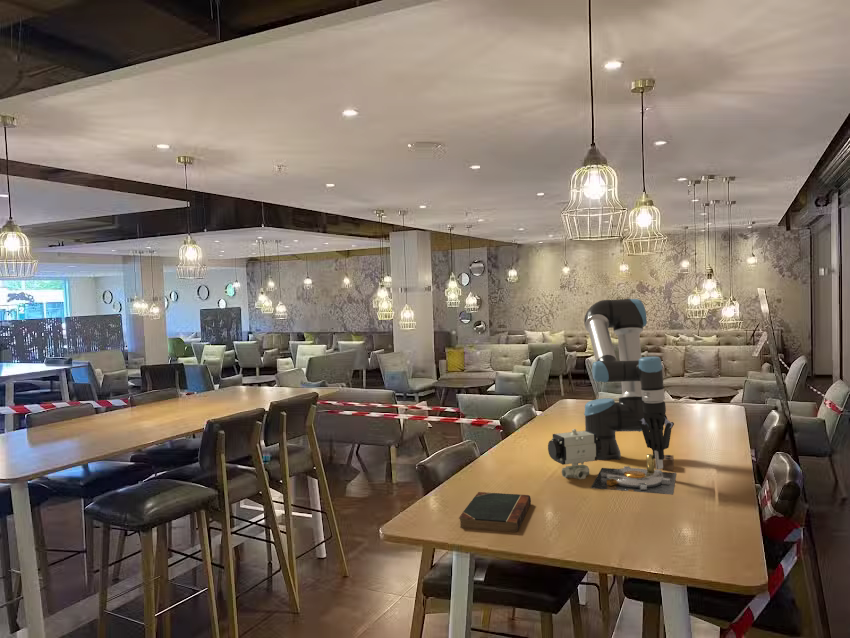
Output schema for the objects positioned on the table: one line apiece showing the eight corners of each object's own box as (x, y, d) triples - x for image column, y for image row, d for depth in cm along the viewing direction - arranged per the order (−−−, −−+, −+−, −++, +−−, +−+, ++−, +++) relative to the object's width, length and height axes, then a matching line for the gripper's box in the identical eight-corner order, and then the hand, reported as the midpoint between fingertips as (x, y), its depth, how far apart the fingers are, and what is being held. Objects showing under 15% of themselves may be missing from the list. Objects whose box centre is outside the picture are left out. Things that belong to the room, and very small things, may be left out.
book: (478, 502, 210) (458, 529, 186) (477, 491, 210) (457, 517, 186) (531, 505, 205) (517, 534, 181) (530, 494, 205) (517, 521, 181)
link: (662, 473, 233) (662, 458, 233) (663, 468, 240) (663, 454, 239) (673, 473, 232) (672, 459, 232) (673, 468, 238) (673, 454, 238)
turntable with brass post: (611, 490, 211) (610, 467, 211) (597, 471, 234) (596, 450, 234) (676, 489, 210) (675, 466, 210) (656, 469, 233) (655, 449, 233)
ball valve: (559, 484, 224) (557, 434, 223) (548, 478, 232) (546, 429, 231) (605, 478, 228) (603, 429, 228) (592, 472, 237) (591, 425, 236)
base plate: (590, 490, 215) (590, 487, 215) (601, 470, 239) (601, 467, 239) (673, 497, 205) (673, 494, 205) (676, 475, 229) (676, 472, 229)
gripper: (631, 402, 225) (637, 468, 226) (663, 404, 215) (670, 473, 216) (644, 398, 230) (649, 463, 230) (676, 400, 220) (682, 468, 220)
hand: (659, 468), depth 223 cm, fingers closed
